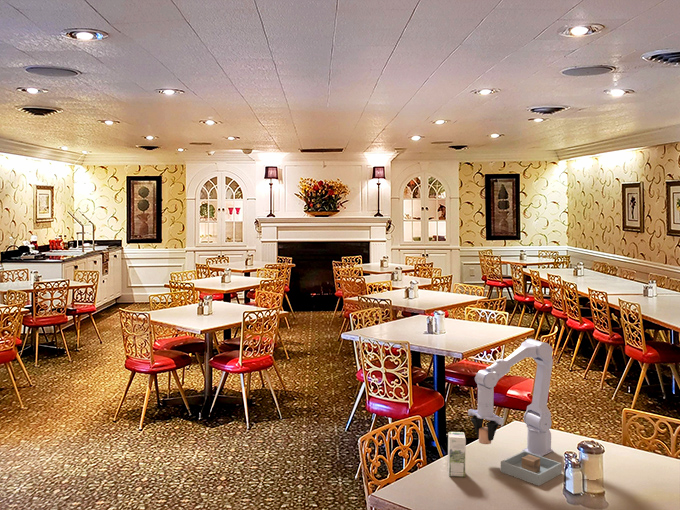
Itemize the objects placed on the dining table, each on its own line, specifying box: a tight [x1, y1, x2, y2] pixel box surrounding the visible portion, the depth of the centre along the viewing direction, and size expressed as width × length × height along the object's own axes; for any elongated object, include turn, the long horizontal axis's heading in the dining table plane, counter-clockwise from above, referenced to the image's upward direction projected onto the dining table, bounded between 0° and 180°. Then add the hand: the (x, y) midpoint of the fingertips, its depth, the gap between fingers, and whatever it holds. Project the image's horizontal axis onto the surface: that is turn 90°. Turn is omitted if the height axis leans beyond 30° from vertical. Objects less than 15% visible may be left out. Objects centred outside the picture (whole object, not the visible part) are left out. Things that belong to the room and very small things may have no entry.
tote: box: [500, 450, 563, 487], centre depth 216 cm, size 15×15×4 cm
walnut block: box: [522, 455, 540, 473], centre depth 216 cm, size 5×5×5 cm
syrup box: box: [447, 431, 467, 478], centre depth 215 cm, size 6×6×14 cm
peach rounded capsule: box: [478, 426, 492, 445], centre depth 226 cm, size 5×5×5 cm
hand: (485, 438), depth 226 cm, fingers closed on peach rounded capsule, 5 cm apart
